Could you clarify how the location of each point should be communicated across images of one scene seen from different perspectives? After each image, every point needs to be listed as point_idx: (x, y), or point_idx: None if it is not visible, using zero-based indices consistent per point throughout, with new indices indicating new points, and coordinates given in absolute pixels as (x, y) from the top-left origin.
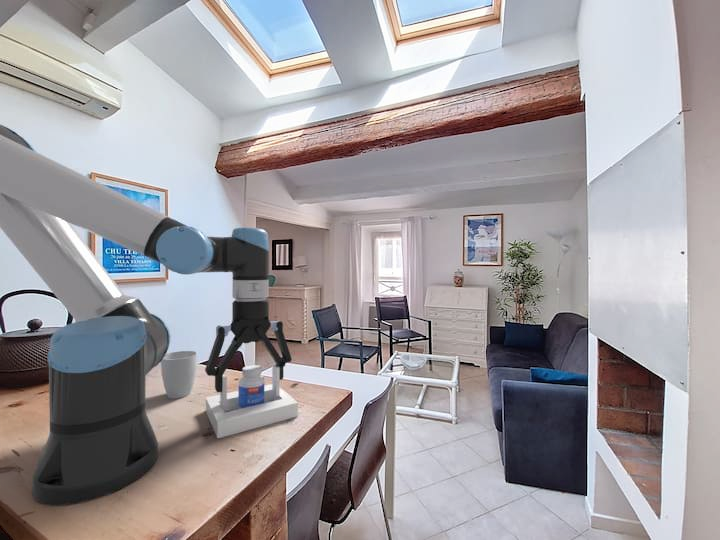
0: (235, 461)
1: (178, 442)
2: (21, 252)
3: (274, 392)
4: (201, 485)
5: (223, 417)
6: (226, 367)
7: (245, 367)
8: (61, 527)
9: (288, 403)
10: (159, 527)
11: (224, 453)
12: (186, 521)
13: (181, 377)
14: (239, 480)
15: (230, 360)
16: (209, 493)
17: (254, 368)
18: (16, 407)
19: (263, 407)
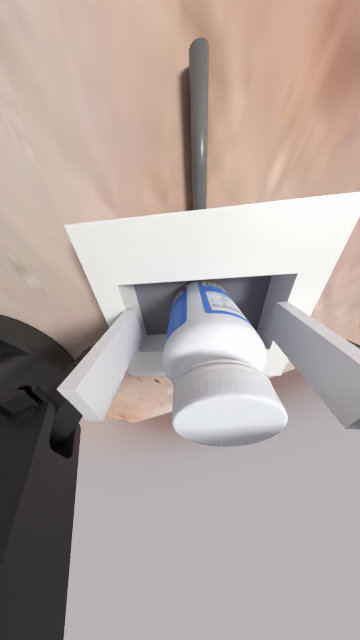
0: (158, 394)
1: (86, 341)
2: None
3: (274, 323)
4: (131, 404)
5: (138, 367)
6: (72, 480)
7: (193, 413)
8: None
9: (263, 371)
10: (114, 417)
11: (148, 381)
12: (128, 419)
13: None
14: (159, 409)
15: (62, 560)
16: (138, 410)
17: (232, 435)
18: None
19: None
